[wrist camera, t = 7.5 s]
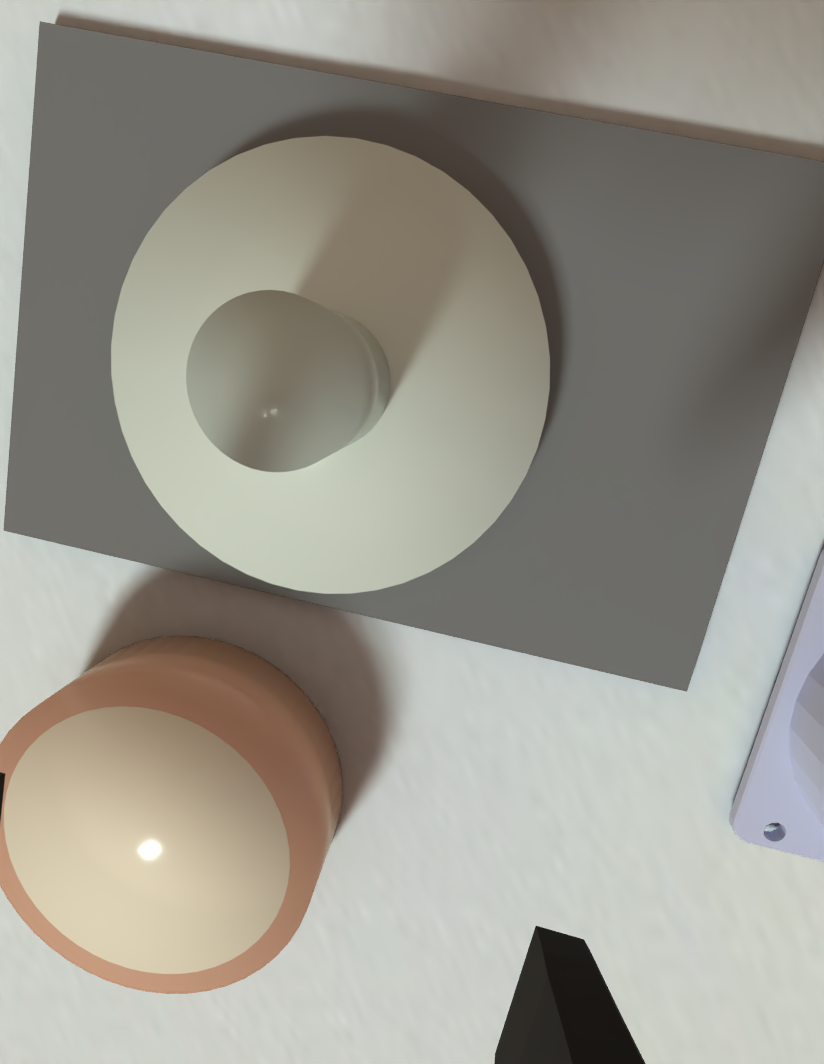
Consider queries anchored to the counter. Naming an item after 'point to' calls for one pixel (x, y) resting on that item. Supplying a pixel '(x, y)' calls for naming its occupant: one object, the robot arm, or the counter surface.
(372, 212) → the lid
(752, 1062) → the counter surface
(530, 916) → the counter surface
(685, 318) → the mat
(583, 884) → the counter surface
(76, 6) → the counter surface
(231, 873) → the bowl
